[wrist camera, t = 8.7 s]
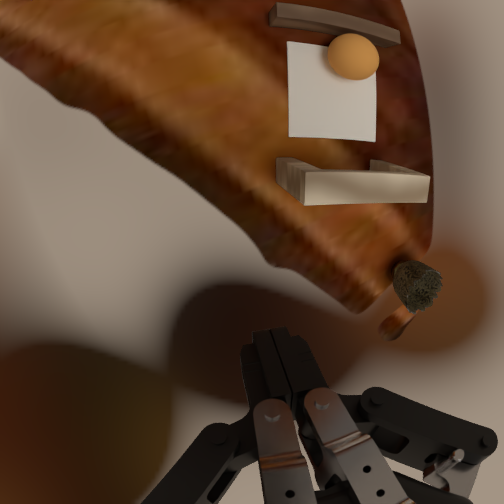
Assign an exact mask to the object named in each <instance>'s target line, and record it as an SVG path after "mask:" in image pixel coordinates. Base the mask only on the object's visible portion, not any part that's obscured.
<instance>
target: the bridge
mask: <svg viewBox="0 0 504 504" xmlns="http://www.w3.org/2000/svg"><path fill="white" fill-rule="evenodd" d="M429 182H430V176H427V175H425V174H422V173H419V172H416V171H413V170H410V169H407V168H404V167H401V166H398V165H395V164H392V163H389V162H385V161H382V160H370V170H332V169H319V168H317V167H315V166H312V165H310V164H307V163H305V162H303V161H300V160H298V159H295V158H293V157H288V158H276V183H277V184H279V185H280V186H281V187H282V188H284V189H285V190H286V191H287V192H289V193H290V194H291V195H292V196H293V197H295V198H296V199H297V200H298V201H300V202H301V203H302V204H303V205H304V206H305V205H327V204H355V203H427V197H428V190H429Z"/></svg>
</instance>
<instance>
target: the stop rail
mask: <svg viewBox="0 0 504 504" xmlns="http://www.w3.org/2000/svg"><path fill="white" fill-rule="evenodd" d="M269 26H272V27H283V28H292V29H301V30H308V31H314V32H321V33H326V34H332V35H337V36H340V35H342V34H348V33H352V34H358V35H361V36H363V37H365V38H366V39H368V40H369V41H370V42H371V43H372V44H374V45H378V46H381V47H384V48H386V47H390V46H394V45H398V44H401V43H400V33H399V31H398V30H396V29H393V28H390V27H387V26H384V25H381V24H378V23H375V22H372V21H368V20H365V19H362V18H358V17H354V16H351V15H347V14H343V13H338V12H334V11H329V10H325V9H319V8H314V7H308V6H302V5H295V4H287V3H279V2H276V4H275V5H274V6H273V8H272V9H271V11H270V12H269Z"/></svg>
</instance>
